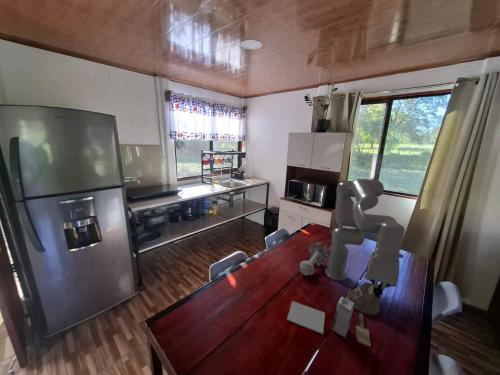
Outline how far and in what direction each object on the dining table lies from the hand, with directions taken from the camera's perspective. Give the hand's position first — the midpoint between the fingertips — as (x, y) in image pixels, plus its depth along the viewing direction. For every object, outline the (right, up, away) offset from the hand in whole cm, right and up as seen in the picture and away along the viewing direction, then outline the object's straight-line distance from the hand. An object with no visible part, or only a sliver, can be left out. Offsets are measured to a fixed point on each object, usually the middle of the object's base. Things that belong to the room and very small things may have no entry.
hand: (376, 295), depth 81 cm
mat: (-24, -18, +15) cm, 34 cm away
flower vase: (-9, -10, +53) cm, 54 cm away
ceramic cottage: (+9, -18, +27) cm, 33 cm away
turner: (-1, -21, +10) cm, 23 cm away
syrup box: (-10, -21, +10) cm, 25 cm away
